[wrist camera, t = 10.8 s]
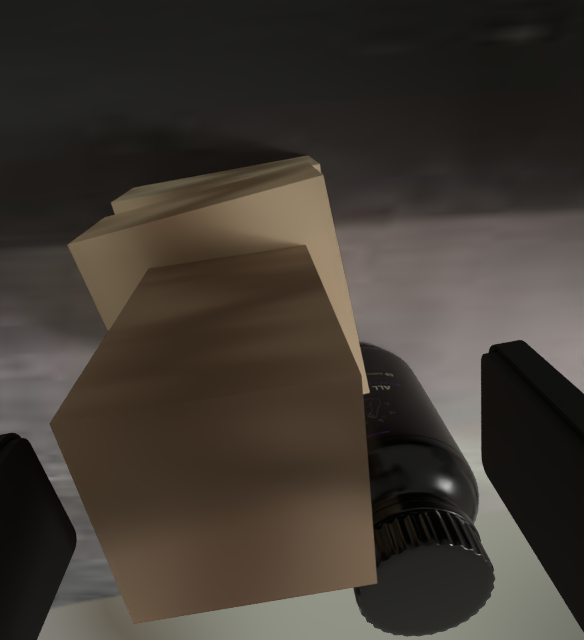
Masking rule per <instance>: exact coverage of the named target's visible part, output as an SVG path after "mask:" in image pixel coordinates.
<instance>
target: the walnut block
mask: <svg viewBox="0 0 584 640" xmlns="http://www.w3.org/2000/svg"><path fill="white" fill-rule="evenodd" d="M50 426H51V428H52V431H53V433H54V435H55V438H56V440H57V443H58V445H59V447H60V450H61V452H62V454H63V457H64V459H65V462H66V464H67V466H68V469H69V471H70V473H71V476H72V478H73V481H74V483H75V485H76V488H77V490H78V492H79V495H80V497H81V500H82V502H83V504H84V507H85V509H86V511H87V514H88V516H89V519H90V521H91V523H92V526H93V528H94V530H95V533H96V535H97V538H98V540H99V542H100V545H101V547H102V549H103V552H104V554H105V557H106V559H107V561H108V564H109V566H110V568H111V571H112V573H113V576H114V578H115V580H116V583H117V585H118V587H119V590H120V592H121V595H122V597H123V599H124V602H125V604H126V606H127V609H128V611H129V613H130V616H131V618H132V621H133V623H134V624H135V623H142V622H148V621H154V620H160V619H166V618H172V617H178V616H184V615H191V614H197V613H203V612H209V611H214V610H220V609H227V608H233V607H239V606H244V605H251V604H257V603H262V602H269V601H275V600H281V599H287V598H292V597H299V596H304V595H311V594H317V593H323V592H329V591H335V590H341V589H347V588H353V587H359V586H365V585H371V584H377V573H376V560H375V546H374V533H373V520H372V506H371V493H370V480H369V467H368V453H367V440H366V427H365V413H364V400H363V387H362V375H361V373H360V370H359V368H358V366H357V363H356V361H355V359H354V356H353V354H352V352H351V349H350V347H349V345H348V342H347V340H346V338H345V335H344V333H343V331H342V328H341V326H340V324H339V321H338V319H337V317H336V314H335V312H334V310H333V307H332V305H331V303H330V300H329V298H328V295H327V293H326V291H325V288H324V286H323V284H322V281H321V279H320V277H319V274H318V272H317V270H316V267H315V265H314V263H313V260H312V258H311V256H310V253H309V251H308V249H307V246H306V245H304V246H297V247H290V248H284V249H277V250H270V251H263V252H257V253H250V254H243V255H236V256H229V257H223V258H216V259H209V260H202V261H195V262H189V263H182V264H175V265H168V266H162V267H155V268H148V270H147V272H146V273H145V275H144V276H143V278H142V279H141V281H140V282H139V284H138V286H137V287H136V289H135V290H134V292H133V293H132V295H131V297H130V298H129V300H128V301H127V303H126V304H125V306H124V308H123V309H122V311H121V312H120V314H119V315H118V317H117V319H116V320H115V322H114V323H113V325H112V326H111V328H110V330H109V331H108V333H107V334H106V336H105V337H104V339H103V341H102V342H101V344H100V345H99V347H98V348H97V350H96V352H95V353H94V355H93V356H92V358H91V359H90V361H89V363H88V364H87V366H86V367H85V369H84V370H83V372H82V374H81V375H80V377H79V378H78V380H77V381H76V383H75V385H74V386H73V388H72V389H71V391H70V392H69V394H68V396H67V397H66V399H65V400H64V402H63V403H62V405H61V406H60V408H59V410H58V411H57V413H56V414H55V416H54V417H53V419H52V421H51V422H50Z"/></svg>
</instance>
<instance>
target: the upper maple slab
mask: <svg viewBox="0 0 584 640" xmlns="http://www.w3.org/2000/svg"><path fill="white" fill-rule="evenodd" d="M304 245H306V246H307V249H308V251H309V253H310V256H311V258H312V260H313V263H314V265H315V267H316V270H317V272H318V274H319V277H320V279H321V281H322V284H323V286H324V288H325V291H326V293H327V295H328V298H329V300H330V303H331V305H332V307H333V310H334V312H335V314H336V317H337V319H338V321H339V324H340V326H341V328H342V331H343V333H344V335H345V338H346V340H347V342H348V345H349V347H350V349H351V352H352V354H353V356H354V359H355V361H356V363H357V366H358V368H359V370H360V373H361V375H362V387H363V394H366V393H370V391H369V387H368V382H367V377H366V373H365V368H364V363H363V359H362V354H361V349H360V345H359V340H358V335H357V331H356V326H355V321H354V317H353V312H352V307H351V303H350V298H349V293H348V288H347V284H346V279H345V274H344V270H343V265H342V260H341V256H340V251H339V246H338V242H337V237H336V232H335V228H334V223H333V218H332V214H331V209H330V204H329V200H328V195H327V190H326V186H325V181H324V176H323V174H321V173H320V172H319V171H318V170H317V169H315V168H314V167H313V166H312V165H311V164H310V163H308V162H305V163H301V164H298V165H294V166H291V167H287V168H283V169H280V170H276V171H272V172H269V173H265V174H261V175H258V176H254V177H250V178H247V179H243V180H239V181H236V182H232V183H228V184H225V185H221V186H217V187H214V188H210V189H207V190H203V191H199V192H196V193H192V194H188V195H185V196H181V197H177V198H174V199H170V200H166V201H163V202H159V203H155V204H152V205H148V206H144V207H141V208H137V209H133V210H130V211H126V212H122V213H119V214H115V215H112V216H108V217H104V218H103V219H102V220H100V221H99V222H97V223H96V224H95V225H93V226H92V227H91V228H89V229H88V230H87V231H85V232H84V233H83V234H81V235H80V236H79V237H77V238H76V239H75V240H73V241H72V242H70V243H69V244H68V247H69V249H70V252H71V254H72V256H73V258H74V260H75V262H76V264H77V266H78V269H79V271H80V273H81V275H82V277H83V279H84V281H85V284H86V286H87V288H88V290H89V292H90V294H91V296H92V298H93V301H94V303H95V305H96V307H97V309H98V311H99V313H100V316H101V318H102V320H103V322H104V324H105V326H106V328H107V330H108V331H109V330H110V328H111V326H112V325H113V323H114V322H115V320H116V319H117V317H118V315H119V314H120V312H121V311H122V309H123V308H124V306H125V304H126V303H127V301H128V300H129V298H130V297H131V295H132V293H133V292H134V290H135V289H136V287H137V286H138V284H139V282H140V281H141V279H142V278H143V276H144V275H145V273H146V272H147V270H148V268H155V267H162V266H168V265H175V264H182V263H189V262H195V261H202V260H209V259H216V258H223V257H229V256H236V255H243V254H250V253H257V252H263V251H270V250H277V249H284V248H290V247H297V246H304Z"/></svg>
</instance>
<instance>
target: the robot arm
mask: <svg viewBox="0 0 584 640" xmlns="http://www.w3.org/2000/svg"><path fill="white" fill-rule="evenodd" d="M481 452H482V463H483V467H484V470H485V473H486V475H487V476H488V478H489V480H490V481H491V483H492V485H493V486H494V488H495V489H496V491H497V493H498V494H499V496H500V498H501V499H502V501H503V502H504V504H505V506H506V507H507V509H508V511H509V512H510V514H511V515H512V517H513V519H514V520H515V522H516V524H517V525H518V527H519V528H520V530H521V532H522V533H523V535H524V536H525V538H526V540H527V541H528V543H529V545H530V546H531V548H532V549H533V551H534V553H535V554H536V556H537V558H538V559H539V561H540V562H541V564H542V566H543V567H544V569H545V571H546V572H547V574H548V575H549V577H550V578H551V580H552V582H553V583H554V585H555V587H556V588H557V590H558V592H559V593H560V595H561V596H562V598H563V599H564V601H565V603H566V605H567V606H568V608H569V609H570V611H571V613H572V614H573V616H574V618H575V619H576V621H577V622H578V624H579V626H580V627H581V629H582V630H583V632H584V394H583V393H582V392H581V391H580V390H579V389H578V388H576V387H575V386H574V385H573V384H572V383H571V382H570V381H569V380H567V379H566V378H565V377H564V376H563V375H562V374H561V373H560V372H558V371H557V370H556V369H555V368H554V367H553V366H552V365H550V364H549V363H548V362H547V361H546V360H545V359H544V358H543V357H541V356H540V355H539V354H538V353H537V352H536V351H535V350H533V349H532V348H531V347H530V346H529V345H528V344H527V343H526V342H524V341H522V340H517V341H512V342H506V343H501V344H495V345H492V346H491V347H490V349H489V353H486V354H483V355H482V358H481ZM75 547H76V532H75V529H74V527H73V525H72V523H71V521H70V519H69V517H68V516H67V514H66V512H65V510H64V508H63V506H62V504H61V502H60V500H59V498H58V496H57V494H56V492H55V490H54V488H53V486H52V484H51V483H50V481H49V479H48V477H47V475H46V473H45V471H44V469H43V467H42V465H41V463H40V461H39V459H38V457H37V455H36V453H35V452H34V450H33V448H32V446H31V444H30V442H29V441H28V440H27V439H25V438H21V437H20V436H19V435H18V434H16V433H8V434H2V435H0V640H37V638H38V636H39V633H40V631H41V629H42V626H43V624H44V621H45V619H46V617H47V614H48V612H49V610H50V607H51V605H52V603H53V600H54V598H55V595H56V593H57V591H58V588H59V586H60V584H61V581H62V579H63V576H64V574H65V572H66V569H67V567H68V565H69V562H70V560H71V557H72V555H73V553H74V550H75Z"/></svg>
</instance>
